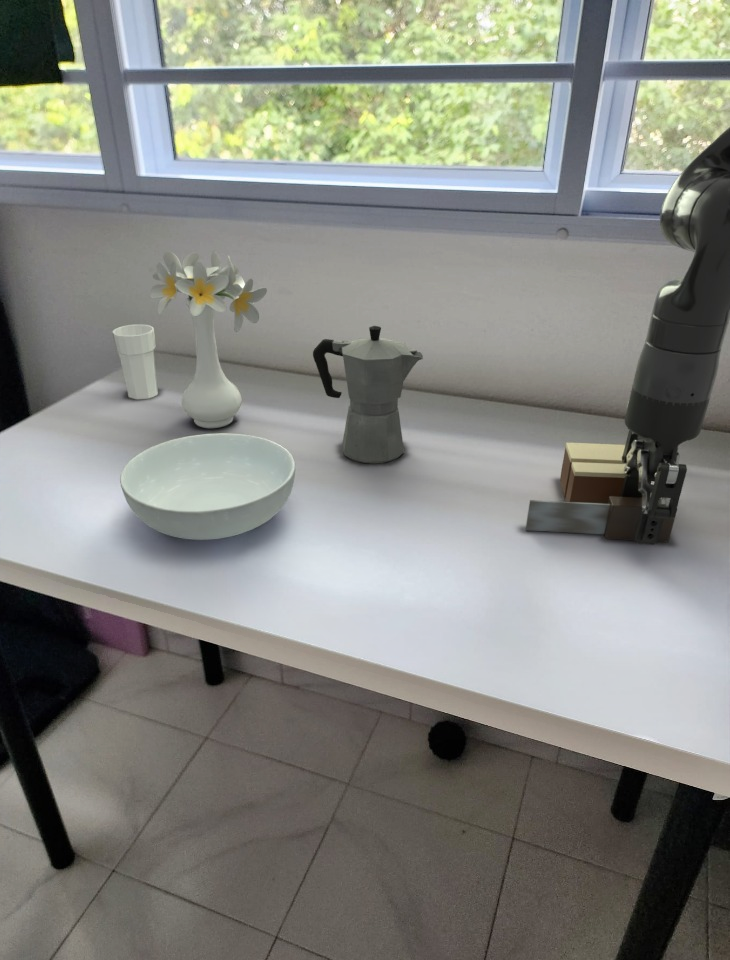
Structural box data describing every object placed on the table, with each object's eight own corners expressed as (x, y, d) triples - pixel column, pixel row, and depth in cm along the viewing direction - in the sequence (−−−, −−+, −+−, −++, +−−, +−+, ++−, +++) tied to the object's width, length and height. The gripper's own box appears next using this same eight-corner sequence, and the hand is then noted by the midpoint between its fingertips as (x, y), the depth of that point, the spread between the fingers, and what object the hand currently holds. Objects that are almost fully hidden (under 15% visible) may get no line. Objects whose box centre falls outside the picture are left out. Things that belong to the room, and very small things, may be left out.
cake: (630, 484, 98) (639, 445, 95) (637, 501, 94) (647, 461, 91) (559, 480, 99) (566, 442, 96) (564, 497, 96) (571, 458, 93)
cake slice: (638, 505, 94) (648, 464, 91) (643, 515, 92) (653, 474, 89) (564, 501, 95) (571, 461, 92) (567, 511, 93) (575, 471, 90)
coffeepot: (425, 442, 110) (432, 320, 100) (409, 470, 103) (415, 341, 93) (326, 429, 115) (324, 311, 105) (304, 455, 107) (299, 330, 97)
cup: (153, 402, 125) (143, 337, 119) (116, 399, 127) (105, 335, 121) (168, 388, 131) (160, 325, 125) (134, 385, 132) (123, 323, 126)
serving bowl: (321, 490, 98) (320, 442, 95) (255, 578, 82) (250, 524, 78) (181, 468, 104) (175, 422, 101) (94, 545, 88) (82, 494, 84)
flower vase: (248, 447, 110) (234, 270, 96) (146, 426, 117) (119, 259, 103) (289, 414, 120) (282, 250, 106) (193, 397, 127) (175, 241, 113)
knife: (663, 532, 88) (672, 499, 86) (668, 542, 86) (677, 508, 84) (524, 524, 90) (529, 492, 88) (526, 534, 88) (531, 501, 86)
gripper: (732, 415, 70) (688, 559, 79) (690, 366, 82) (655, 496, 91) (649, 410, 71) (614, 554, 80) (620, 363, 83) (592, 491, 92)
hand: (636, 523), depth 85 cm, fingers open, 8 cm apart
